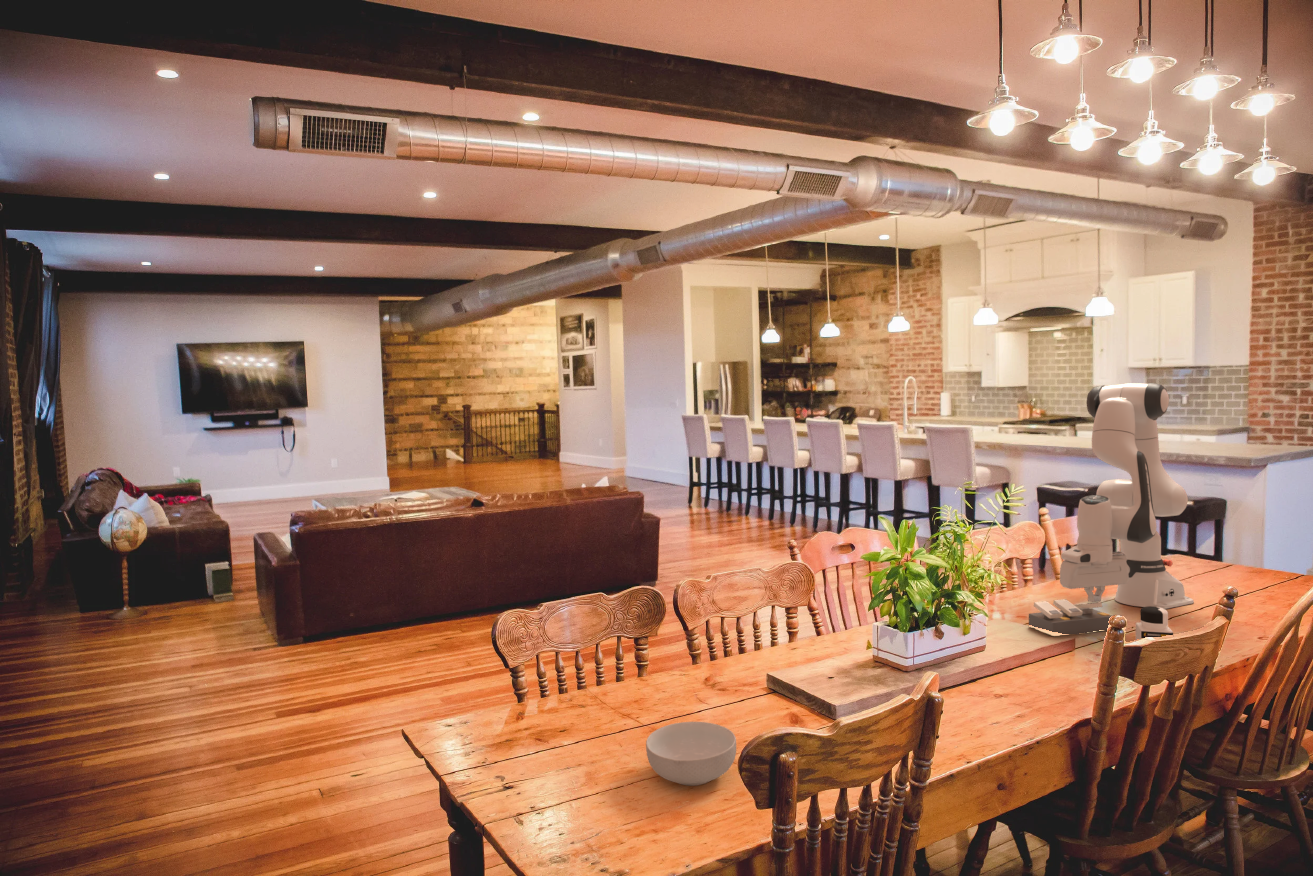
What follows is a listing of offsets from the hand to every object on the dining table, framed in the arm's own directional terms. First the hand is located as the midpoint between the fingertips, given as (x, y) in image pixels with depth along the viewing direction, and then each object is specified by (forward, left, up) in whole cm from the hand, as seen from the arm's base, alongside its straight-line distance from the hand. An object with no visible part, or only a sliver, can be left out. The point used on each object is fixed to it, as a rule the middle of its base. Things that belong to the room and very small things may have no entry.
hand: (1094, 601), depth 231 cm
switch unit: (+5, -3, -8) cm, 10 cm away
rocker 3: (0, -3, -2) cm, 4 cm away
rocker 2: (+6, -3, -2) cm, 7 cm away
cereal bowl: (+133, +52, -9) cm, 143 cm away
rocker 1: (+13, -3, -2) cm, 13 cm away
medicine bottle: (+1, +22, -8) cm, 24 cm away
